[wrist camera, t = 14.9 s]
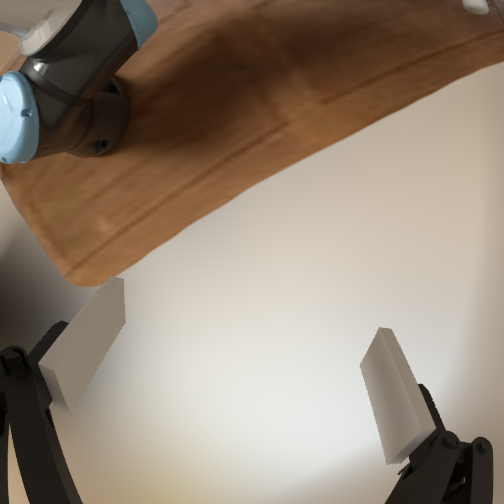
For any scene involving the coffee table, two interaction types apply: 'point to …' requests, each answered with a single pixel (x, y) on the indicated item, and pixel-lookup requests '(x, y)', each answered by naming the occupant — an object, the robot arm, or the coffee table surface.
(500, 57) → the coffee table surface
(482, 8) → the maple block
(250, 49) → the coffee table surface
